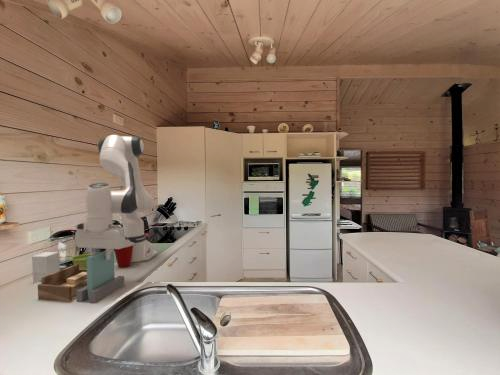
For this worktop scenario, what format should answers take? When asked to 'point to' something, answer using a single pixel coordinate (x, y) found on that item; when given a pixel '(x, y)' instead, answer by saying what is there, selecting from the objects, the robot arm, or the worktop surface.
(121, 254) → the plastic cup
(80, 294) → the sheet stand
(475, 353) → the worktop surface
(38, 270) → the supplement box
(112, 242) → the robot arm
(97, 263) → the tall sheet
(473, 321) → the worktop surface
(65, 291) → the open wooden tray
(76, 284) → the offcut stack
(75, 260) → the plant pot
